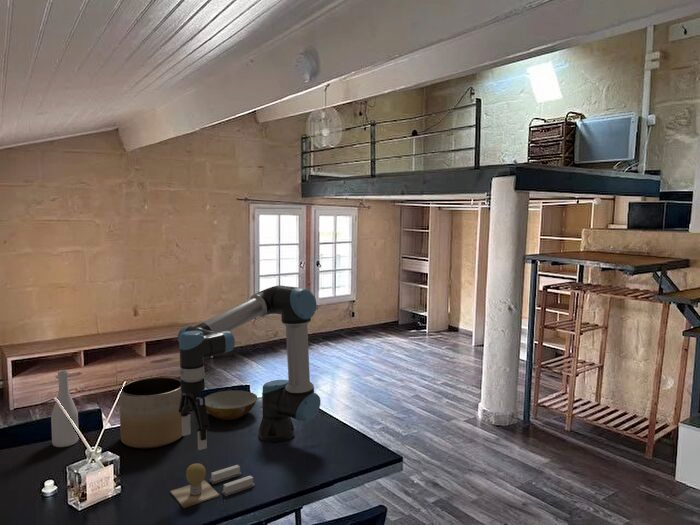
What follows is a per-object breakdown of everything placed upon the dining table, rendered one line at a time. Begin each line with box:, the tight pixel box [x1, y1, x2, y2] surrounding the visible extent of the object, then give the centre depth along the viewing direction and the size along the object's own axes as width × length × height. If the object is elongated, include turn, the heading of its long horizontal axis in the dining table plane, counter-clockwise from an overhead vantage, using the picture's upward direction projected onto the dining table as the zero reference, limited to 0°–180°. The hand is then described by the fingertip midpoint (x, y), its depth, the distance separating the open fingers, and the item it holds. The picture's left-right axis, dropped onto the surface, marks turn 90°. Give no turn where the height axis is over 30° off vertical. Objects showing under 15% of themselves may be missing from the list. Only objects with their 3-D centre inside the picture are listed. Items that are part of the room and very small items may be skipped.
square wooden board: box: [169, 479, 220, 509], centre depth 175 cm, size 12×12×1 cm
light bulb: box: [185, 462, 207, 495], centre depth 174 cm, size 6×6×10 cm
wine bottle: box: [50, 369, 80, 448], centre depth 212 cm, size 10×10×30 cm
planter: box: [119, 376, 183, 450], centre depth 218 cm, size 25×25×22 cm
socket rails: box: [209, 464, 256, 497], centre depth 182 cm, size 13×11×3 cm
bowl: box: [203, 389, 258, 421], centre depth 244 cm, size 25×25×8 cm
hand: (194, 441), depth 173 cm, fingers open, 13 cm apart
